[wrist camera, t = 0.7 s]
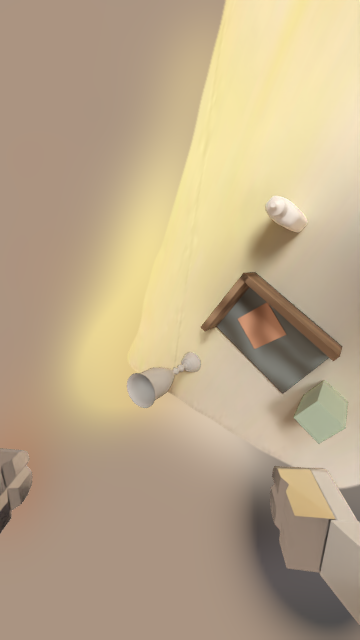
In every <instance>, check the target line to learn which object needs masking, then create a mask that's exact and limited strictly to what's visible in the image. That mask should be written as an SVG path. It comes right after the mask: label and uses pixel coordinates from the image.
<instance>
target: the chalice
mask: <svg viewBox="0 0 360 640" xmlns="http://www.w3.org/2000/svg"><path fill="white" fill-rule="evenodd" d="M200 366H201V361H200V359H199V357H198V356H197V355H196V354H195V353H193V352H188V353H186V354H185V355H184V357H183V359H182V365H178V366H177V368H173V370H171V369H168V368H161V367H156V368H151V369H148V370H146V371H144V372H142V373H135V374H132V375H131V376H130V377H129V379H128V381H127V390H128V393H129V396H130V398H131V399H132V400H133V402H134V403H135V404H137V405H138V406H140V407H143V408H148V407H150V406H151V405H152V404H153V403H154V401H155V400H156V399H158V398H159V397H160V396H162V395H164V394H165V393H167V391H168V390H169V388H170V387H171V385H172V382H173V380H174V374H178V373H179V372H183V371H184V370H186V371H188V372H196V371H198V370H199V369H200Z"/></svg>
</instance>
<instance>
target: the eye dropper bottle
mask: <svg viewBox="0 0 360 640" xmlns="http://www.w3.org/2000/svg"><path fill="white" fill-rule="evenodd" d="M265 210H266V212H267V214H268V215H269V217H270V218H271V219H272V220H273V221H274V222H276V223H277V224H279V225H281V226H283V227H285V228H286V229H288V230H290V231H293V232H300V231H302V230H303V228H304V227H305V226H306V225H307V223H308V221H307V218H306V216H305V215H304V214H303V212H302V211H301V210H300V209H298V208H297V207H296V206H295V205H294V204H293V203H292V202H291V201H290V200H288V199H286V198H284V197H281V196H272V197H271V198H270V199H269V200H268V202H267V203H266V205H265Z"/></svg>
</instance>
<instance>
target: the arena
mask: <svg viewBox="0 0 360 640" xmlns="http://www.w3.org/2000/svg"><path fill="white" fill-rule="evenodd" d="M214 327H218V328H219V329H220V330H221V331H222V332H223V333H224V334H225V335H226V336H227V337H228V338H229V339H230V340H231V341H232V342H233V343H234V344H235V345H236V346H237V347H238V349H239V350H240V351H241V352H242V353H243V354H244V355H245V356H246V357H247V358H248V359H249V360H250V361H251V362H252V363H253V364H254V365H255V366H256V367H257V368H258V369H259V370H260V371H261V372H262V373H263V374H264V375H265V376H266V377H267V378H268V379H269V380H270V381H271V382H272V383H273V384H274V385H275V386H276V387H277V388H278V389H279V390H280V391H281V392H282V393H284V392H286V391H287V390H288V389H290V388H291V387H292V386H293V385H295V384H296V383H297V382H298V381H300V380H301V379H302V378H304V377H305V376H306V375H307V374H309V373H310V372H311V371H312V370H314V369H315V368H316V367H318V366H319V365H320V364H321V363H323V362H324V361H325V360H327V359H328V358H330V359H331V360H333V361H334V360H336V359H337V358H338V357H340V354H341V349H342V346H341V345H340V344H339V343H337V342H336V341H335V340H334V339H333V338H332V337H330V336H329V335H328V334H327V333H326V332H325V331H323V330H322V329H321V328H320V327H319V326H318V325H316V324H315V323H314V322H313V321H312V320H310V319H309V318H308V317H307V316H306V315H305V314H303V313H302V312H301V311H300V310H299V309H298V308H296V307H295V306H294V305H293V304H292V303H291V302H289V301H288V300H287V299H286V298H285V297H284V296H282V295H281V294H280V293H279V292H278V291H277V290H275V289H274V288H273V287H272V286H271V285H269V284H268V283H267V282H266V281H265V280H264V279H262V278H261V277H260V276H259V275H258V274H257V273H255V272H250V273H243V274H242V276H241V277H240V278H239V279H238V281H237V282H236V283H235V284H234V286H233V287H232V288H231V290H230V291H229V292H228V293H227V295H226V296H225V297H224V298H223V300H222V301H221V302H220V303H219V305H218V306H217V307H216V308H215V310H214V311H213V312H212V314H211V315H210V316H209V317H208V319H207V320H206V321H205V322H204V324H203V325H202V326H201V328H202V329H203V330H204V331H207V330H209V329H212V328H214Z"/></svg>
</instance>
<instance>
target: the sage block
mask: <svg viewBox="0 0 360 640" xmlns="http://www.w3.org/2000/svg"><path fill="white" fill-rule="evenodd" d="M347 407H348V402H347V401H346V400H345V399H344V398H343V397H342V396H341V395H340V394H339V393H338V392H337V391H336V390H334V389H333V388H332V387H331V386H330V385H329V384H328V383H327V382H326V381H325V380H323V381H322V382H321V383H319V384H318V385H317V386H315V387H314V388H313V389H311V390H310V391H308V392H307V393H306V394H304V395H303V397H302V399H301V402H300V404H299V406H298V408H297V411H296V413H295V415H294V417H293V418H294V419H295V420H296V421H297V422H298V423H299V424H300V425H301V426H302V427H303V428H304V429H305V430H306V431H307V432H308V433H309V434H310V435H311V436H312V437H313V438H314V440H315V441H316V442H317V443H318V444H319V443H321V442H323V441H325V440H326V439H328V438H330V437H331V436H333V435H335V434H336V433H338V432H340V431H342V430H343V429H345V428H346V418H347Z"/></svg>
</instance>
